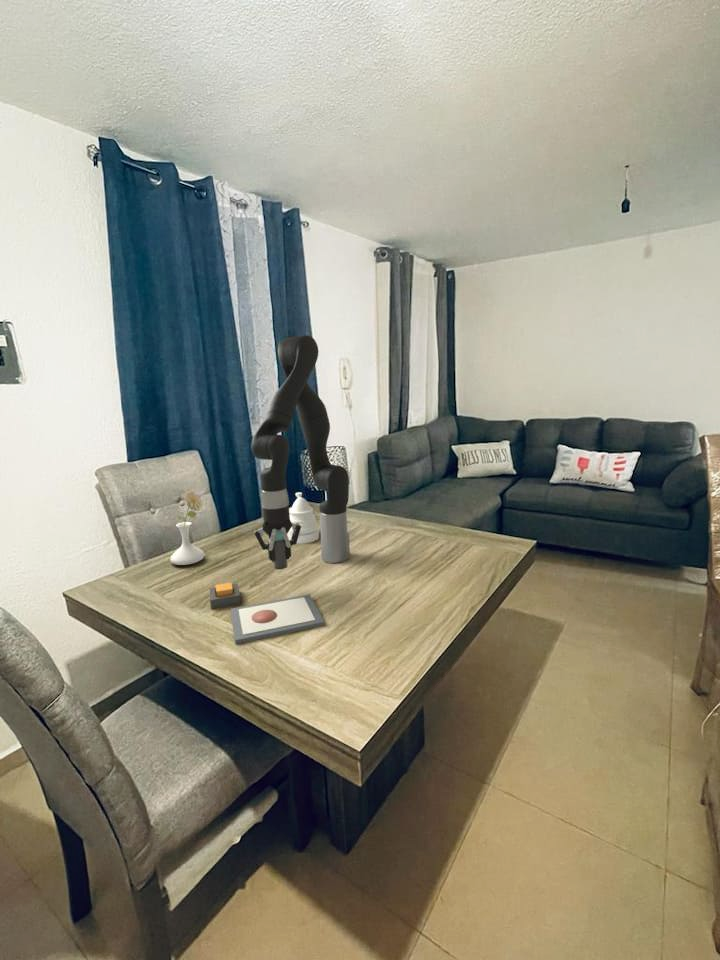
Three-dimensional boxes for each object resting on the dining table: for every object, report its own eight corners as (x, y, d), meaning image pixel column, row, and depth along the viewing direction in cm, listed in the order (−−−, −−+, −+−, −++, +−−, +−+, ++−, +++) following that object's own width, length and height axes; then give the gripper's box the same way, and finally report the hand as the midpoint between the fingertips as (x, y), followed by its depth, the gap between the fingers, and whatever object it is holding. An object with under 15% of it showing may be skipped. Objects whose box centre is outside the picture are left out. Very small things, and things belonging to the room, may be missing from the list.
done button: (232, 588, 130) (231, 582, 129) (233, 595, 125) (232, 588, 125) (216, 591, 128) (215, 585, 128) (216, 598, 124) (216, 591, 124)
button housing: (238, 591, 132) (237, 583, 132) (240, 603, 125) (240, 595, 124) (210, 596, 130) (209, 588, 129) (211, 608, 122) (210, 600, 122)
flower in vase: (184, 570, 148) (176, 498, 142) (163, 564, 154) (154, 494, 148) (215, 557, 159) (208, 489, 153) (195, 551, 165) (187, 486, 159)
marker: (286, 562, 133) (283, 525, 131) (288, 568, 130) (285, 529, 127) (273, 565, 132) (269, 527, 129) (275, 570, 128) (271, 531, 126)
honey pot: (282, 535, 179) (279, 492, 175) (312, 530, 185) (310, 488, 181) (291, 545, 168) (288, 500, 164) (323, 540, 173) (321, 495, 169)
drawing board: (309, 597, 127) (309, 592, 127) (324, 625, 113) (324, 620, 112) (230, 612, 120) (230, 607, 120) (235, 644, 105) (234, 638, 105)
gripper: (296, 497, 132) (300, 551, 136) (248, 504, 127) (254, 559, 131) (302, 504, 125) (306, 560, 129) (251, 511, 121) (257, 569, 125)
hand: (280, 559), depth 130 cm, fingers closed on marker, 3 cm apart
